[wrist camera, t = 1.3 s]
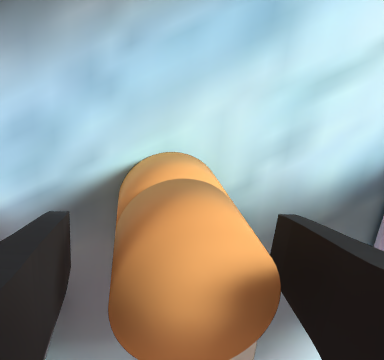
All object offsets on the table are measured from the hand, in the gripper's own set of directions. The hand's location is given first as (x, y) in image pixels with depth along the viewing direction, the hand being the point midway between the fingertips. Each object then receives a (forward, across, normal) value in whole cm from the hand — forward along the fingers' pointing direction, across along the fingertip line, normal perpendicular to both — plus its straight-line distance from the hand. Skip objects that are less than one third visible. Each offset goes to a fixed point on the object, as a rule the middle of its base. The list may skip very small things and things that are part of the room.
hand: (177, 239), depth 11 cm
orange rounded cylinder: (+3, 0, 0) cm, 3 cm away
